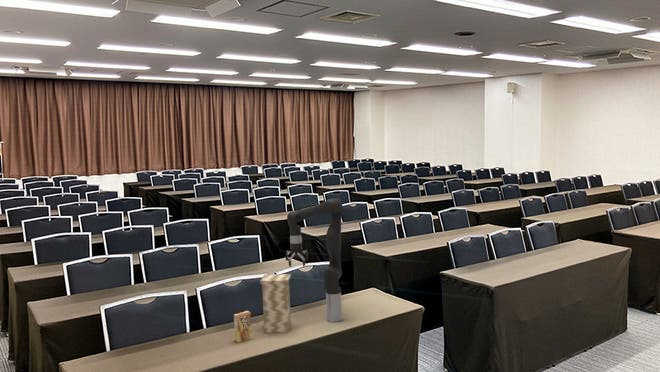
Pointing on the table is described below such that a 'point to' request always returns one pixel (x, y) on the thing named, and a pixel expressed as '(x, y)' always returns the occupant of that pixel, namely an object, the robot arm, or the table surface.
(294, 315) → the table surface
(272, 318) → the pedestal
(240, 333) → the candy box
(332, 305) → the robot arm
